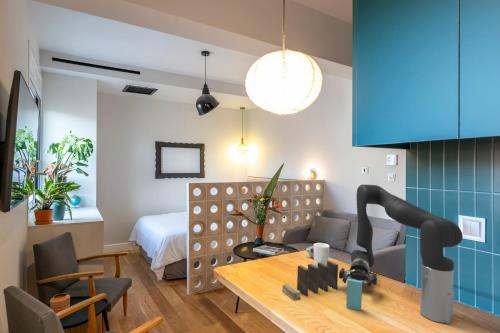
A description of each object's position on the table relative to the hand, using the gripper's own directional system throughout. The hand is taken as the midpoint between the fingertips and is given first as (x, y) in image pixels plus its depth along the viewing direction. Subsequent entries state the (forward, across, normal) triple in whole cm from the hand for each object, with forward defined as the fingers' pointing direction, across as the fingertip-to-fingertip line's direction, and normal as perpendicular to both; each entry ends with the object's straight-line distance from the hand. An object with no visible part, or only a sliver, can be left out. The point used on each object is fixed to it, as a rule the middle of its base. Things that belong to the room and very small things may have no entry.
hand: (356, 282), depth 114 cm
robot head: (-39, -25, +6) cm, 47 cm away
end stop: (+9, -23, +6) cm, 26 cm away
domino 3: (-3, -13, +6) cm, 15 cm away
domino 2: (+1, -17, +6) cm, 18 cm away
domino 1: (+5, -20, +6) cm, 21 cm away
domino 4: (-7, -10, +6) cm, 14 cm away
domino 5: (+8, 0, +6) cm, 10 cm away
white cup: (-32, -20, +6) cm, 38 cm away
